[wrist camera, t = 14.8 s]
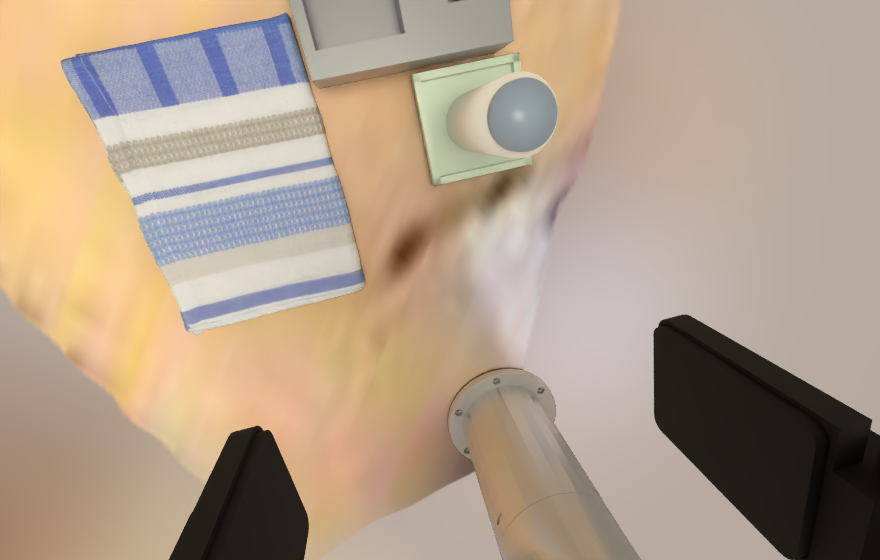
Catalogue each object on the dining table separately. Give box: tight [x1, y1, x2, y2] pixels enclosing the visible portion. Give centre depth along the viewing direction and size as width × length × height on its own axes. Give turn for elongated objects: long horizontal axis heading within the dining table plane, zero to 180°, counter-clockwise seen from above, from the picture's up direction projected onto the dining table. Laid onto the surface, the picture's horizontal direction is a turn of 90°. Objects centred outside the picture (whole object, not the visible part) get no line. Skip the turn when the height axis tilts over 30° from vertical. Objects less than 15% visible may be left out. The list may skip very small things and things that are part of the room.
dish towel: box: [61, 13, 365, 335], centre depth 34 cm, size 17×24×3 cm
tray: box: [411, 53, 532, 186], centre depth 36 cm, size 9×9×2 cm
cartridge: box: [446, 71, 558, 158], centre depth 29 cm, size 5×5×13 cm
